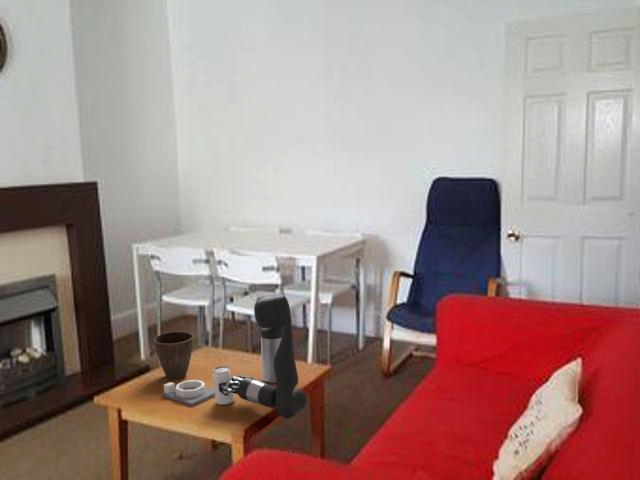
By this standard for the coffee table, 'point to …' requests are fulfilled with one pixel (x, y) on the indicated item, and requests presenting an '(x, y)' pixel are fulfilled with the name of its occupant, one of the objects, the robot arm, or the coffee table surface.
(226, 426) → the coffee table surface
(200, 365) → the coffee table surface
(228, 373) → the can
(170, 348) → the plant pot
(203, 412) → the coffee table surface
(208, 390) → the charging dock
